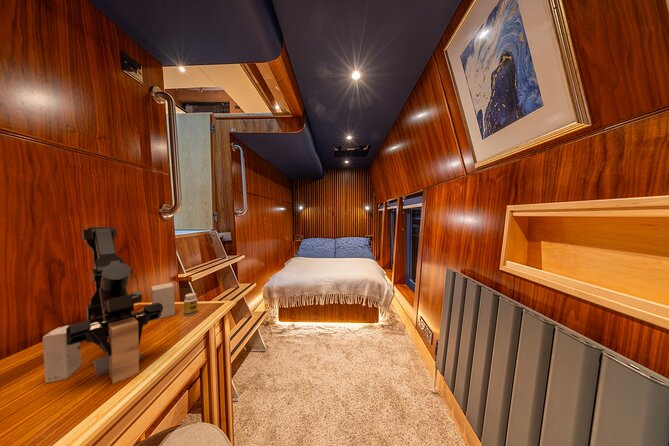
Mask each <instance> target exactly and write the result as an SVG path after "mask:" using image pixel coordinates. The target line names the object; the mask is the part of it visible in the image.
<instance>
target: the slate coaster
mask: <svg viewBox="0 0 669 446" xmlns="http://www.w3.org/2000/svg"><path fill="white" fill-rule="evenodd" d="M140 360H143V355H142V353H140V352H139V361H140ZM92 362H93V363H92V365H93V367H94V370H95V373H96V375H97V378H98V377H100V376H104V375H106V374H109V373H110V372H109V356H108V355H107V354H106V355H104V356H101V357H99V358H96V359H94V360H92Z"/></svg>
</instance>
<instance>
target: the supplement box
mask: <svg viewBox="0 0 669 446" xmlns="http://www.w3.org/2000/svg"><path fill="white" fill-rule="evenodd" d="M150 288H151V304H154V303H158V302H159V303H161V304H162V306H163V311H162V313H161V316H160V317H159V318H158V319H155V320H154V321H157V320H160V319H163V318H167V317H172V316H175V315H176V306H175V305H176V303H175V301H176V300H175V286H174V284H173V283H172V282H168V283H161V284H158V285H152V286H150Z"/></svg>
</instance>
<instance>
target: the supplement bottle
mask: <svg viewBox="0 0 669 446" xmlns="http://www.w3.org/2000/svg"><path fill="white" fill-rule="evenodd" d="M183 307H184V308H183V310H184V311H183V312H184V313H183V314H184V316H185V317H188V316H189V317H190V316H194V315H196V314H197V313H198V298H197V293H196V292H191V293H190V292H189V293H187V294H185V296H184V301H183Z"/></svg>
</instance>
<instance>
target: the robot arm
mask: <svg viewBox="0 0 669 446" xmlns="http://www.w3.org/2000/svg"><path fill="white" fill-rule="evenodd" d="M117 231H118V230H117V228H114V227H111V226H88V227H86V229H82V231H81V233H82V234H81V235H82V237H81V238H82V240H83V241H85V246H86V247H87V248H88V249H89V250H90V251H91V252H92V258H93V259H92V261H93V269H91V279H92V282H94V288H95V290H94V291H95V292H94V293H93V294H92V296H91V298H90V299H89V304H87V305H86V319H87V320H85V321H80V322H77V323H72V324H69V326H68V325H67V326H68V327H67V328H66V343H67V345H72V344H75V343H79V342H80V343H81V342H85V343H94V345H96V346H97V347H99V348H100V349H101V350H102V352H103V353H105V355H106V356H107V355H108V356H111V349H110V346H109V339H108V338H109V327H108V324H109V323H113V322H116V321H120V320H124V319H127V318H131V317H134V318H135V319H136V320H137V321H138V338H139V346H140V344H141V338H142V333H143V328H144V326H146V325H148V324H149V322H151V321H156V320H159V319H158V318H159V317H160V316H161V313H162V311H163V306H162V304H161V303H159V302H158V303H154V304H152V303H151V304H148V305H144V307H143V309H142V311H137V312H134V310H135V307H134V306H135V304H138V303H139V304H140V303H141V302H142V301H143V296H142V291H141V290H135V291H132V292H131V293H130V294H129V292H128V288H127V286H128V284H129V281H130V276H131V274H133V269H132V268H131V267H130V265H128V264H125V262H124V259H123V258H122V257H120V256H119V255H117V251H116V247H115V243H114V242H115V239H117V238H118V232H117ZM155 319H156V320H155Z"/></svg>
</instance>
